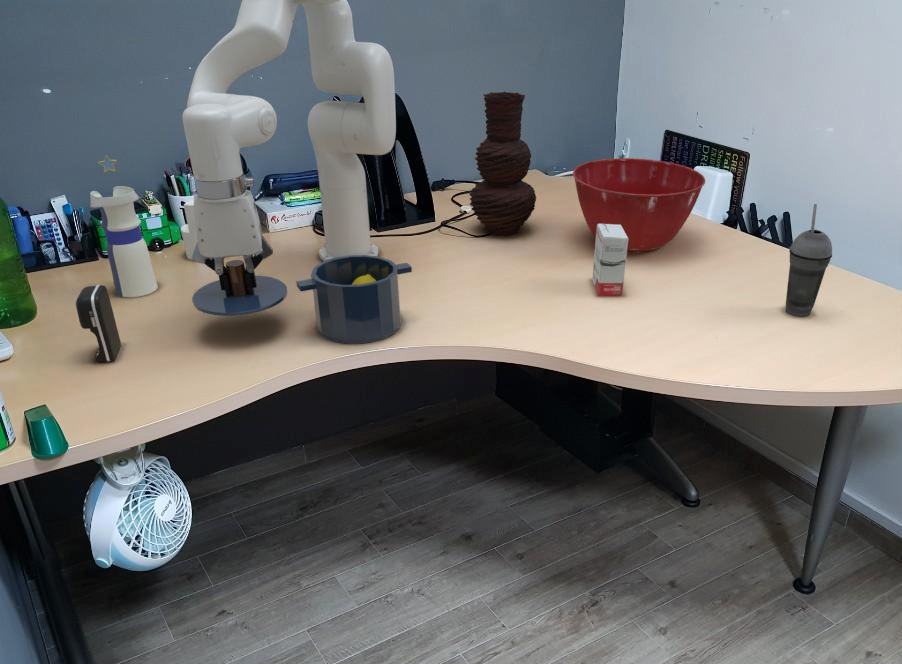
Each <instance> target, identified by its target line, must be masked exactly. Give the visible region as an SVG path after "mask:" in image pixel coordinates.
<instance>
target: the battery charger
mask: <svg viewBox="0 0 902 664" xmlns="http://www.w3.org/2000/svg"><path fill="white" fill-rule="evenodd" d="M75 308H76V313H77V317H78V320H79V324H80V327H81V328H82V329H83V330H90V332H91V333H92V334H93V335H95V338H96V342H97V344H98V348H97V350H96V353H95V354H94V360H95V361H97V362H111V361H114V360H115V359H116V357H117V355H118V352H119V350H120V347H121V345H122V341H121V337H120V334H119V329H118V327H117V322H116V318H115V314H114V310H113V306H112V302H111V298H110V294H109V292H108V288H107V287H106V285H102V284H97V285H87V286H85V287H83V288H82V290H80V293H79V294H78V296H77V298H76V301H75Z"/></svg>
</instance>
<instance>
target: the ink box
mask: <svg viewBox="0 0 902 664" xmlns="http://www.w3.org/2000/svg"><path fill="white" fill-rule="evenodd" d="M594 242H595V244H594V254H593V267H592V276H591V278H592V283H593V286H594V287H595V291H596V294H597V296H601V297H602V296H605V297H606V296H609V297H610V296H612V297H613V296H623V291H624V282H625V273H626V272H625V271H626V263H627V255H628V252H627V246H628V237H627V235H626V233H625V232H624V230H623V228H622V226H621V225H614V224H597V231H596V238H595V241H594Z"/></svg>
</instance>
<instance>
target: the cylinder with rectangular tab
mask: <svg viewBox="0 0 902 664" xmlns="http://www.w3.org/2000/svg"><path fill="white" fill-rule="evenodd" d="M183 208H184V213H185V219H186V224H184V225H182V226H181V227H180V232H181V236H182V241H183V246H184V250H185V255H186V258H187V259H188V260H190V261H194V260H193V259H192V255H193V252H194V249H195V247H196V244H197V234H196V227H195V218H194V196H192V197H191V198H190V199H189V200H188V201H187V202H185V203H184V204H183Z"/></svg>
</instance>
